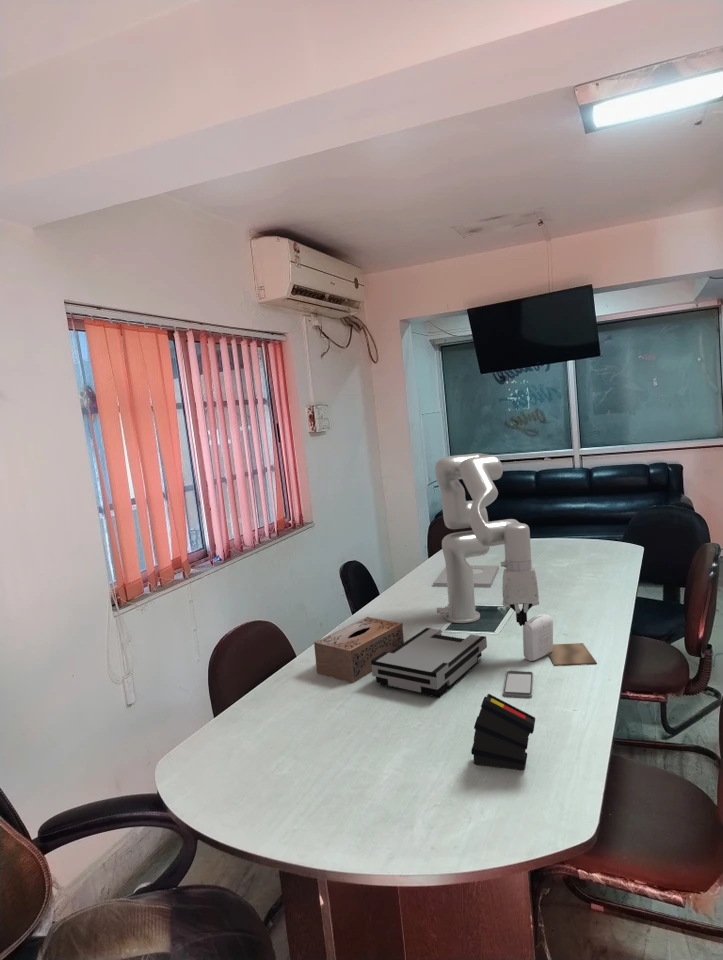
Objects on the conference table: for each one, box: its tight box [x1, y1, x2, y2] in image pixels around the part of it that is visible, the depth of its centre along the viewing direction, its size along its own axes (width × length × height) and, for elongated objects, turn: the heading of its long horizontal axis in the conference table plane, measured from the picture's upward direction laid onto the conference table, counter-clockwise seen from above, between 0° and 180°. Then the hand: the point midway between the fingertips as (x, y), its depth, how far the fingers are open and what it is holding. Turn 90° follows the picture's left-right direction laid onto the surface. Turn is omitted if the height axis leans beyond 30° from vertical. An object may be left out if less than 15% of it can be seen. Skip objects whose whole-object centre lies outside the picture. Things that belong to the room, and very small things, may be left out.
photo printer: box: [522, 613, 554, 662], centre depth 186 cm, size 10×4×12 cm, turn 124°
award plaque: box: [432, 564, 500, 589], centre depth 280 cm, size 25×30×2 cm
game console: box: [371, 627, 488, 698], centre depth 182 cm, size 21×32×8 cm, turn 145°
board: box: [547, 642, 598, 667], centre depth 187 cm, size 12×15×1 cm
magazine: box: [471, 693, 536, 771], centre depth 133 cm, size 4×13×15 cm, turn 70°
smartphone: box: [502, 670, 534, 699], centre depth 170 cm, size 7×1×15 cm
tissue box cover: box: [313, 616, 405, 684], centre depth 193 cm, size 26×14×10 cm, turn 141°
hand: (521, 624), depth 187 cm, fingers closed
